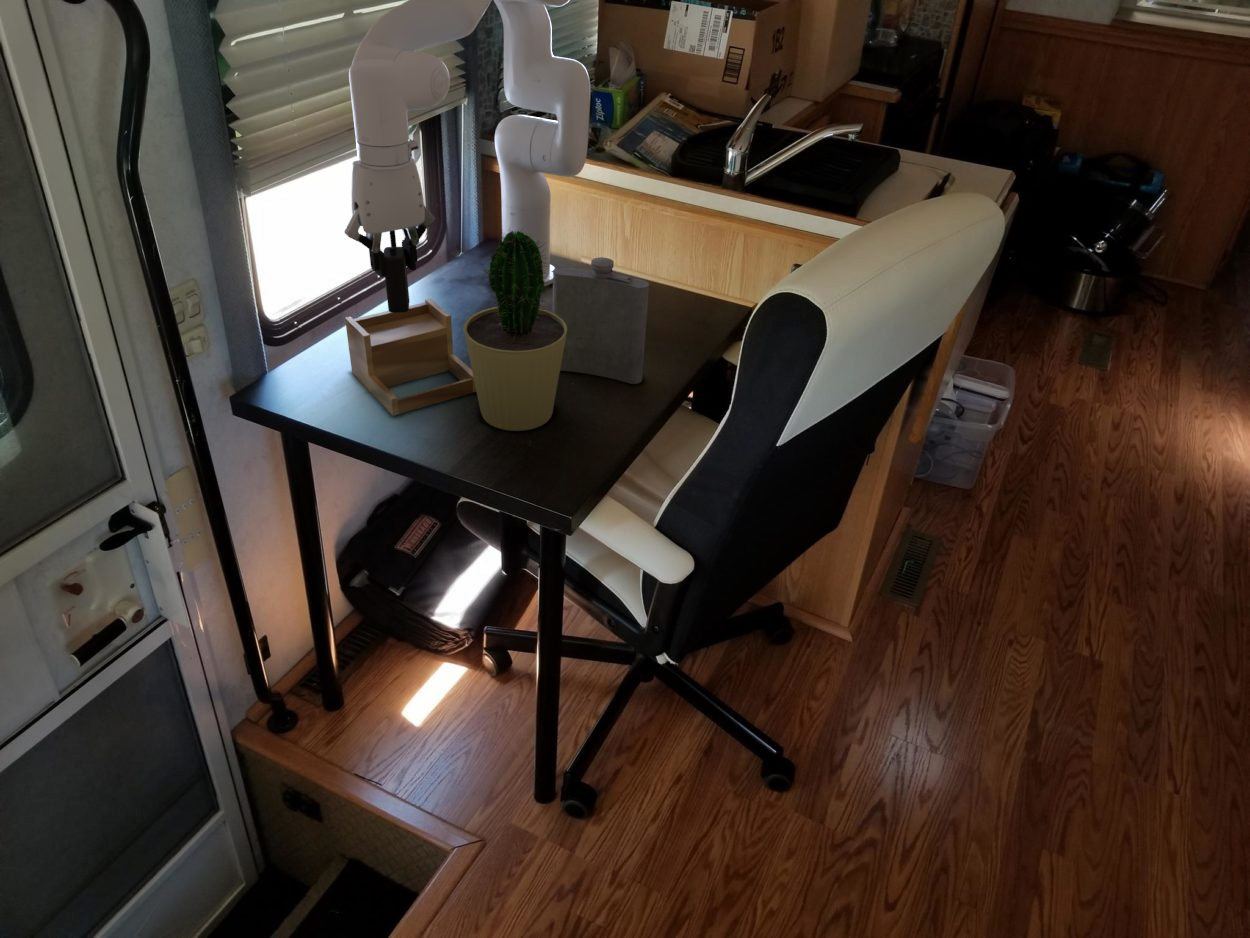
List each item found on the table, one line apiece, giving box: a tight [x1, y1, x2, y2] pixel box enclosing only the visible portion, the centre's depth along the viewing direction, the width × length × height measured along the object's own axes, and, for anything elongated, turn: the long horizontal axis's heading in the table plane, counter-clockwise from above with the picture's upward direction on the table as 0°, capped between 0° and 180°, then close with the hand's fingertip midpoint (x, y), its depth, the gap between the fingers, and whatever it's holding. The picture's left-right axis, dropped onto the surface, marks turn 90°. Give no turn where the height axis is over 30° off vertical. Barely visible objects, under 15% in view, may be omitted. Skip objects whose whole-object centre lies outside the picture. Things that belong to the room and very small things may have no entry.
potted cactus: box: [462, 227, 567, 432], centre depth 139 cm, size 15×15×30 cm
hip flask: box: [552, 256, 650, 385], centre depth 154 cm, size 16×4×20 cm, turn 75°
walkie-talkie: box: [383, 230, 410, 313], centre depth 145 cm, size 5×3×15 cm
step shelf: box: [344, 298, 477, 417], centre depth 151 cm, size 16×15×10 cm
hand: (394, 269), depth 146 cm, fingers closed on walkie-talkie, 4 cm apart
